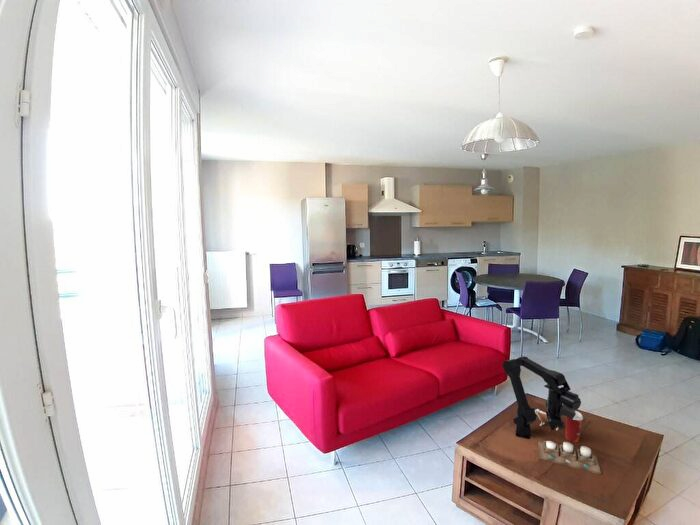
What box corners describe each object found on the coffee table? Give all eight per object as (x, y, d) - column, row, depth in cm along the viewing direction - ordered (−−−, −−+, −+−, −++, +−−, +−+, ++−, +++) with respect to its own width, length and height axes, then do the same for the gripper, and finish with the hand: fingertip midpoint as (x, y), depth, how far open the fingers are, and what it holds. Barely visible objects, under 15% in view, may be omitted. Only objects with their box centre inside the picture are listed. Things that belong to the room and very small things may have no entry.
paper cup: (583, 444, 173) (586, 418, 172) (566, 442, 175) (569, 416, 173) (576, 435, 181) (579, 410, 179) (560, 433, 182) (562, 408, 181)
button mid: (563, 452, 163) (563, 445, 163) (562, 447, 167) (562, 441, 166) (573, 455, 161) (573, 448, 161) (571, 450, 165) (572, 443, 165)
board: (539, 458, 163) (539, 451, 163) (538, 443, 174) (538, 437, 174) (600, 474, 153) (601, 467, 153) (595, 457, 164) (596, 451, 163)
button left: (546, 451, 166) (546, 444, 166) (545, 446, 170) (545, 439, 169) (555, 454, 165) (556, 447, 164) (554, 449, 168) (555, 442, 168)
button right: (580, 457, 160) (581, 450, 160) (579, 452, 164) (580, 445, 163) (591, 459, 158) (591, 452, 158) (589, 454, 162) (590, 447, 162)
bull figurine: (533, 419, 195) (534, 406, 193) (561, 428, 187) (562, 414, 186) (532, 423, 191) (533, 409, 190) (560, 432, 183) (561, 418, 182)
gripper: (578, 413, 152) (575, 446, 154) (572, 394, 169) (569, 423, 171) (549, 407, 157) (546, 439, 159) (546, 389, 173) (543, 418, 175)
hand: (552, 429), depth 166 cm, fingers closed
